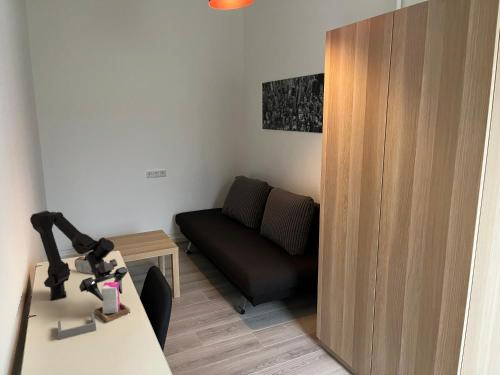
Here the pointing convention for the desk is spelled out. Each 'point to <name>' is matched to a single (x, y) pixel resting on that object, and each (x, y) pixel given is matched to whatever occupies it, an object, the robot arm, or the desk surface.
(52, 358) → the desk surface
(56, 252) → the robot arm
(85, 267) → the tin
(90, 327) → the stall
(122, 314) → the tray
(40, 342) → the desk surface
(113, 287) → the supplement box
